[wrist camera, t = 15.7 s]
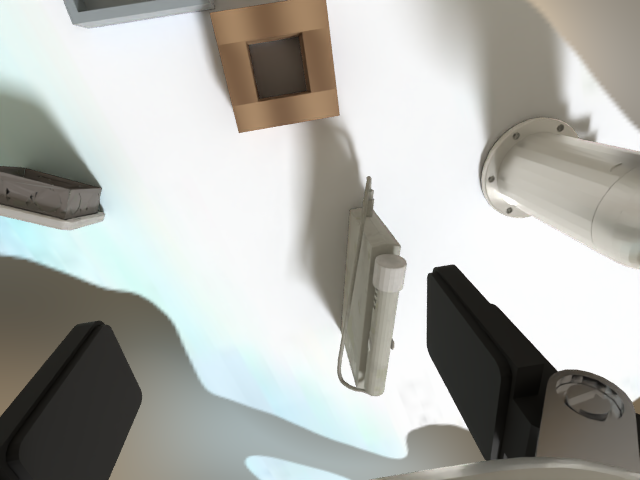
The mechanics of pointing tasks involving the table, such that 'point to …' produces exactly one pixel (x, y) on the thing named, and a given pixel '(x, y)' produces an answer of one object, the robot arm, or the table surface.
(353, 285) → the geiger counter
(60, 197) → the electrical switch
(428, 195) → the table surface
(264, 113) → the brown square frame
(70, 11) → the parts tray
